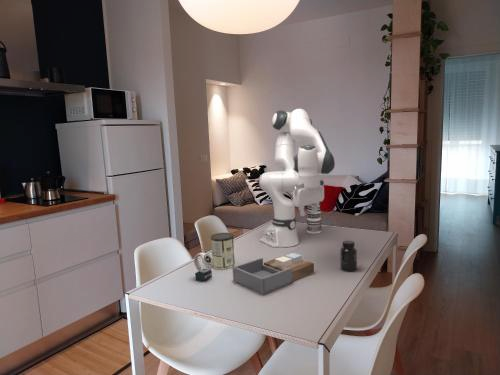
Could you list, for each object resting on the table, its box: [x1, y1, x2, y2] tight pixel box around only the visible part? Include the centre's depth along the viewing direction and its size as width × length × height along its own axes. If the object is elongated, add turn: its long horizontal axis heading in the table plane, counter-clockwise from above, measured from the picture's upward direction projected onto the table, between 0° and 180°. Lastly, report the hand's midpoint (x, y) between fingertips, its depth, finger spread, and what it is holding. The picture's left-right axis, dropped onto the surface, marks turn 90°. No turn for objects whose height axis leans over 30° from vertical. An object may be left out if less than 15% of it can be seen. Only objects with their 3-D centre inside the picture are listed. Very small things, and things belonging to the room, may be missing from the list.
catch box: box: [232, 257, 294, 296], centre depth 147 cm, size 18×16×6 cm
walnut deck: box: [263, 254, 315, 282], centre depth 156 cm, size 16×14×4 cm
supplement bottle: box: [339, 240, 358, 273], centre depth 156 cm, size 7×7×12 cm
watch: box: [193, 252, 213, 283], centre depth 152 cm, size 6×8×11 cm
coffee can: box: [210, 232, 236, 270], centre depth 167 cm, size 10×10×14 cm
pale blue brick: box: [284, 252, 303, 264], centre depth 157 cm, size 5×5×2 cm
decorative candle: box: [305, 201, 322, 234], centre depth 216 cm, size 9×9×25 cm
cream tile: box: [274, 255, 292, 268], centre depth 154 cm, size 5×5×2 cm
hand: (308, 214), depth 161 cm, fingers open, 8 cm apart
